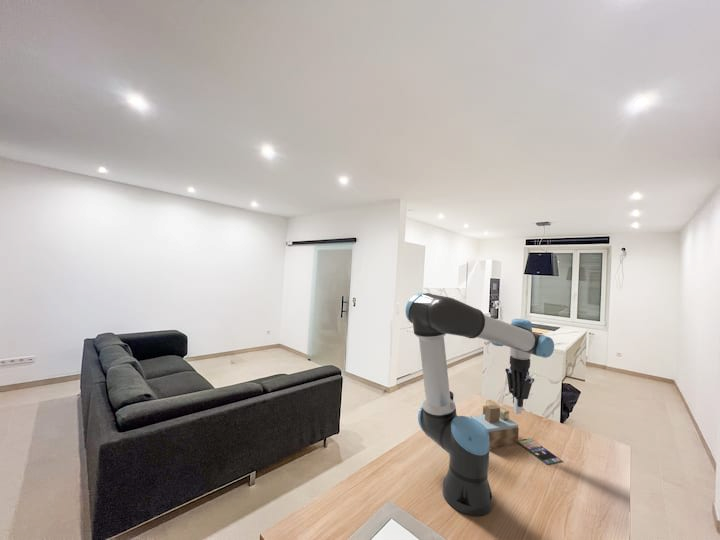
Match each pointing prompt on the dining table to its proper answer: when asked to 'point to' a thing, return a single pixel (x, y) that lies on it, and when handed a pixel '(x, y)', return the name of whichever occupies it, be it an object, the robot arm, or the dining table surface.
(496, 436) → the open wooden box
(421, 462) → the dining table surface
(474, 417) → the lid
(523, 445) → the smartphone
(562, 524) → the dining table surface
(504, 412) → the beige rectangular block
